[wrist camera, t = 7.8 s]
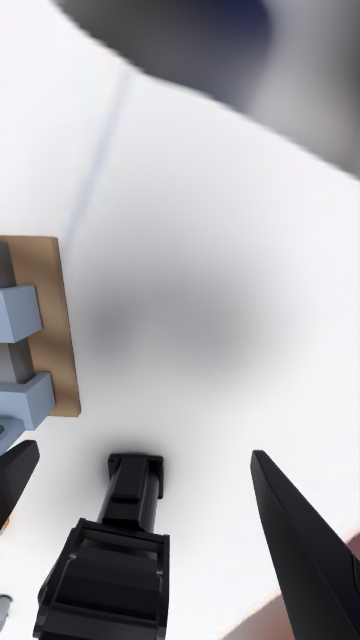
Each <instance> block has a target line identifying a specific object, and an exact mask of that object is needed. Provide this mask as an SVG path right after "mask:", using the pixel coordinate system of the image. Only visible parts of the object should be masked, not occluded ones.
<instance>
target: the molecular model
mask: <svg viewBox="0 0 360 640" xmlns="http://www.w3.org/2000/svg"><path fill="white" fill-rule="evenodd" d="M9 607H10V599H9V598H8V597H6V596H4V597H1V598H0V632H1V631H2V629H3V627H4V625H5V621H6V614H7V613H8V610H9Z"/></svg>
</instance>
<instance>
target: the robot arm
mask: <svg viewBox="0 0 360 640" xmlns="http://www.w3.org/2000/svg"><path fill="white" fill-rule="evenodd" d="M39 457H40V454H39V450H38V446H37V442H36V441H35V440H24V441H22V442H21V443H19V444H18V445H16V446H15V447H13V448H11V449H10V450H8V451H7V452H5V453H4V454H2V455H1V456H0V531H1V529H2V527H3V526H4V524H5V522H6V521H7V519H8V517H9V516H10V514H11V512H12V511H13V509H14V507H15V506H16V504H17V502H18V500H19V498H20V496H21V494H22V492H23V490H24V488H25V486H26V485H27V483H28V481H29V479H30V477H31V475H32V473H33V471H34V469H35V467H36V465H37V463H38V461H39ZM108 467H109V477H110V484H109V487H108V490H107V493H106V496H105V499H104V502H103V505H102V507H101V510H100V513H99V516H98V519H97V522H93V521H88V520H86V519H85V518H80V519H79V521H78V524H77V526H76V527H75V528H72V529H71V531H70V534H69V536H68V538H67V541H66V543H65V545H64V548H63V550H62V552H61V554H60V556H59V557H58V559H57V561H56V563H55V564H54V566H53V568H52V569H51V571H50V573H49V574H48V576H47V578H46V580H45V581H44V583H43V585H42V587H41V589H40V591H39V594H38V603H39V610H38V613H37V619H36V623H35V626H34V630H33V638H38V639H39V640H165V635H166V628H167V618H168V607H169V558H170V535H166V534H164V535H159V534H154V533H153V531H154V523H155V515H156V507H157V499H162V498H163V475H164V460H163V458H161V457H148V456H131V455H110V456H109V458H108ZM250 469H251V475H252V480H253V485H254V490H255V495H256V500H257V505H258V510H259V515H260V519H261V523H262V527H263V530H264V534H265V537H266V541H267V544H268V548H269V551H270V554H271V558H272V561H273V565H274V568H275V572H276V575H277V579H278V582H279V586H280V589H281V592H282V596H283V599H284V603H285V606H286V610H287V613H288V617H289V620H290V623H291V627H292V630H293V634H294V637H295V640H360V560H359V559H358V558H357V557H356V556H355V555H354V554H352V552H351V550H350V549H349V548H348V547H347V545H346V544H345V543H344V542H343V541H342V540H341V538H340V537H339V536H338V535H337V534H336V533H335V532H334V530H333V529H332V528H331V527H330V526H329V525H328V524H327V522H326V521H325V520H324V519H323V518H322V517H321V516H320V514H319V513H318V512H317V511H316V510H315V509H314V508H313V506H312V505H311V504H310V503H309V502H308V501H307V500H306V498H305V497H304V496H303V495H302V494H301V493H300V491H299V490H298V489H297V488H296V487H295V486H294V485H293V483H292V482H291V481H290V480H289V479H288V478H287V477H286V475H285V474H284V473H283V472H282V471H281V470H280V469H279V467H278V466H277V465H276V464H275V463H274V462H273V461H272V459H271V458H270V457H269V456H268V455H267V454H266V453H265V452H264V451H263V450H253V452H252V457H251V464H250Z"/></svg>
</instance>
